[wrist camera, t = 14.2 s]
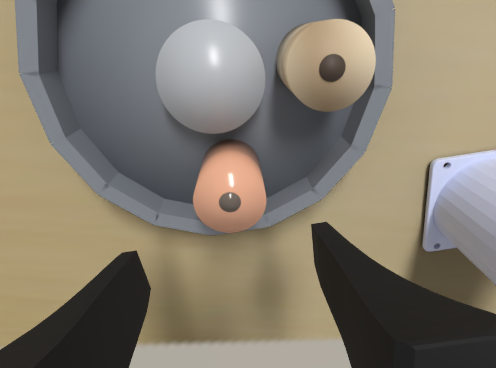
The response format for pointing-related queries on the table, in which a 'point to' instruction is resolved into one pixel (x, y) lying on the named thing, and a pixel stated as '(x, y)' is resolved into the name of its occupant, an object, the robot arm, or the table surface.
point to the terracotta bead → (230, 187)
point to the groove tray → (192, 97)
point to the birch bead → (326, 63)
